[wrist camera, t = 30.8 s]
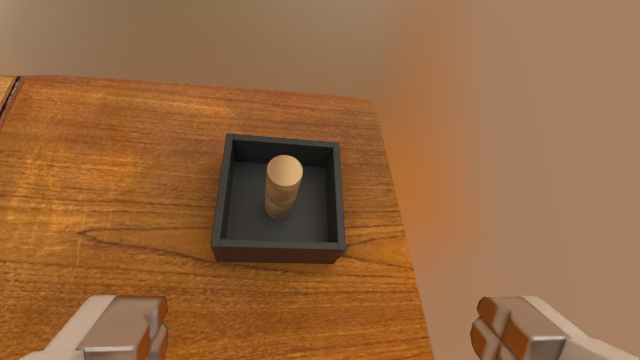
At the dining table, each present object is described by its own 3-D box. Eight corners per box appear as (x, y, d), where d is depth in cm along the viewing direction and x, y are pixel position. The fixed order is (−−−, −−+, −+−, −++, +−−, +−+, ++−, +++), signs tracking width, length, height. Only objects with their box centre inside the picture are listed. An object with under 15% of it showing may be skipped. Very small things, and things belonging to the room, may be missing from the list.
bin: (329, 166, 45) (339, 142, 40) (333, 263, 39) (345, 250, 33) (229, 159, 43) (226, 133, 37) (216, 261, 36) (210, 246, 31)
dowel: (293, 193, 41) (302, 156, 33) (293, 220, 39) (302, 187, 31) (265, 192, 40) (267, 153, 32) (263, 218, 39) (265, 184, 31)
